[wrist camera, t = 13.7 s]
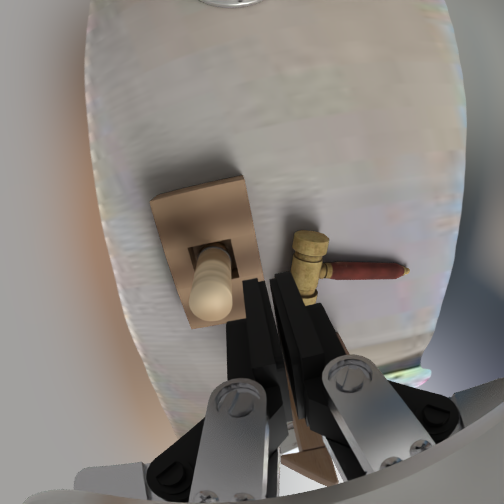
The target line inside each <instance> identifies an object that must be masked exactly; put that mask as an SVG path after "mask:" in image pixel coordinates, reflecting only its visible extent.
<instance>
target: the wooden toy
mask: <svg viewBox="0 0 504 504" xmlns="http://www.w3.org/2000/svg"><path fill="white" fill-rule="evenodd" d="M336 334H337V336H338V338H339V340H340V342H341V344H342V346H343V348H344V350H345V353H346V355H350V354H349V352H348V351H347V349H346V347H345V345H344V343H343V341H342V339H341V337H340V335H339V334H338V333H336ZM284 364H285V362H284ZM285 369H286V366H285ZM286 376H287V382H288V389H289V396H290V402H291V409H292V416H293V421H292V422H293V426H294V431H295V436H296V440H297V445H298V449H299V452H297V453H291V454H285V455H282V456H281V461H280V462H281V464H283V465H285V466H287V467H288V468H290V469H292V470H294V471H296V472H298V473H300V474H302V475H304V476H306V477H308V478H310V479H312V480H314V481H316V482H318V483H321V484H323V485H325V486H327V487H329V486H332V485H336V484H338V482H339V481H338V478H337V475H336V471H335V468H334V465H333V461H332V458H331V455H330V453H329V451H328V449H327V447H326V445H325V443H324V441H323V439H322V436H321V435H320V434H318V433H316V432H314V431H311V430H310V427H309V426H308V427H307V425H306V421H305V418H304V419H298V416H297V412H296V407H295V403H294V399H293V395H292V391H291V387H290V382H289V378H288V374H287V370H286Z"/></svg>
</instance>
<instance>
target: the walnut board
mask: <svg viewBox="0 0 504 504" xmlns="http://www.w3.org/2000/svg"><path fill="white" fill-rule="evenodd" d="M150 206H151V209H152V213H153V216H154V220H155V223H156V227H157V230H158V233H159V237H160V240H161V243H162V246H163V249H164V253H165V256H166V259H167V262H168V265H169V268H170V271H171V274H172V277H173V280H174V283H175V286H176V288H177V291H178V294H179V297H180V300H181V302H182V305H183V308H184V311H185V313H186V316H187V319H188V321H189V324H190V326H191V329H196V328H202V327H208V326H214V325H219V324H225V323H226V322H227V321H232V320H238V319H244V318H246V313H245V304H244V294H243V285H242V281H243V280H248V279H253V278H258V282H260V281H264V277H263V271H262V266H261V261H260V256H259V251H258V246H257V240H256V235H255V230H254V225H253V220H252V215H251V210H250V205H249V200H248V195H247V190H246V185H245V180H244V177H243V175H241V176H236V177H231V178H226V179H221V180H217V181H212V182H208V183H204V184H199V185H195V186H191V187H187V188H183V189H179V190H175V191H171V192H167V193H163V194H159V195H157V196H156V197H154V198H153V199H152V200H151V201H150ZM212 242H220V243H222V244H223V245H224V246H225V247H226V248H227V249H228V250H229V252H230V256H231V282H232V309H231V311H230V313H229V314H228V315H227V316H226V317H225V318H223V319H221V320H218V321H205V320H202V319H200V318H198V317H197V316H195V315H194V314H193V312H192V311H191V309H190V306H189V298H190V293H191V288H192V284H193V279H194V274H195V270H196V265H197V258H198V255H199V252H200V250H201V249H202V248H203V247H204V246H205V245H207V244H208V243H212Z"/></svg>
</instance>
